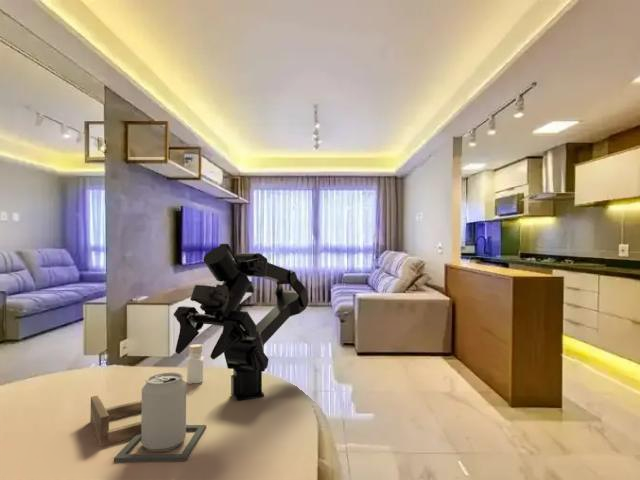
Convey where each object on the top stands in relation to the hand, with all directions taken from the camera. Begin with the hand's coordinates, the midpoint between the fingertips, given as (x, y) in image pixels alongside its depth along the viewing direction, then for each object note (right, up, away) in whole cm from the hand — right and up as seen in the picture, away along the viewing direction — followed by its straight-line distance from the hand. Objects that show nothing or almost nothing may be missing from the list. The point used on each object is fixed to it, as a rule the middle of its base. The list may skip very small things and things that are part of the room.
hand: (193, 355), depth 78 cm
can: (-3, -14, -8) cm, 16 cm away
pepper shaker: (-8, -15, +25) cm, 30 cm away
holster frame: (-3, -14, -8) cm, 16 cm away
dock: (-13, -14, 0) cm, 19 cm away
